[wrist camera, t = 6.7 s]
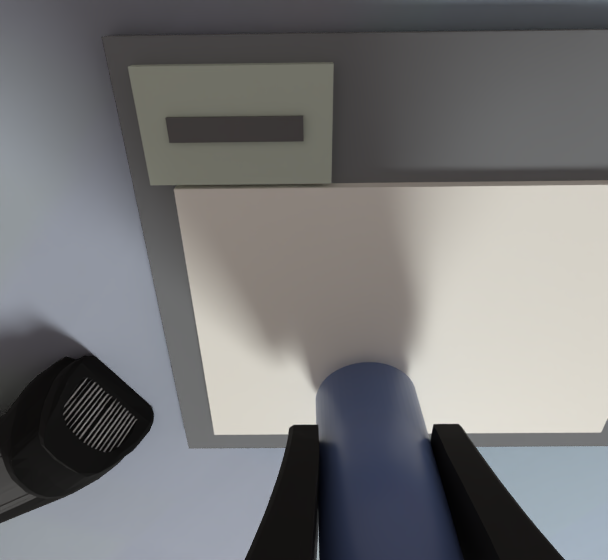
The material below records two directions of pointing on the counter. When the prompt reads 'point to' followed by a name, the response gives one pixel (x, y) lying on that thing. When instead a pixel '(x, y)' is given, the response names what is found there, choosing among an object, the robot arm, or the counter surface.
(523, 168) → the desk mat
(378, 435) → the marker
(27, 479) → the electric trimmer
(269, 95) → the word tile
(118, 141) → the counter surface
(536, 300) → the paper
